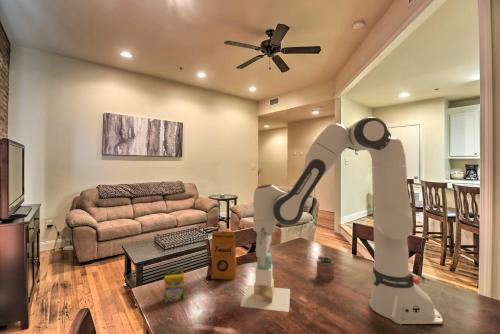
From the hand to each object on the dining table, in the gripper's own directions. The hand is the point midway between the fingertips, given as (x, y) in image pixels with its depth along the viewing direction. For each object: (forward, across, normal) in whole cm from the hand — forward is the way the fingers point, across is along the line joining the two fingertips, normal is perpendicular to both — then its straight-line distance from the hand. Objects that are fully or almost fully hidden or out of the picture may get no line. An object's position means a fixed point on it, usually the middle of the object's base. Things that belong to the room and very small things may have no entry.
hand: (264, 260), depth 96 cm
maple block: (+15, 0, 0) cm, 15 cm away
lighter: (+16, +24, -26) cm, 39 cm away
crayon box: (+16, -7, +35) cm, 39 cm away
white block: (+9, 0, 0) cm, 9 cm away
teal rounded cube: (+3, 0, 0) cm, 3 cm away
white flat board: (+16, 0, -1) cm, 16 cm away
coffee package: (+16, +15, +21) cm, 30 cm away
